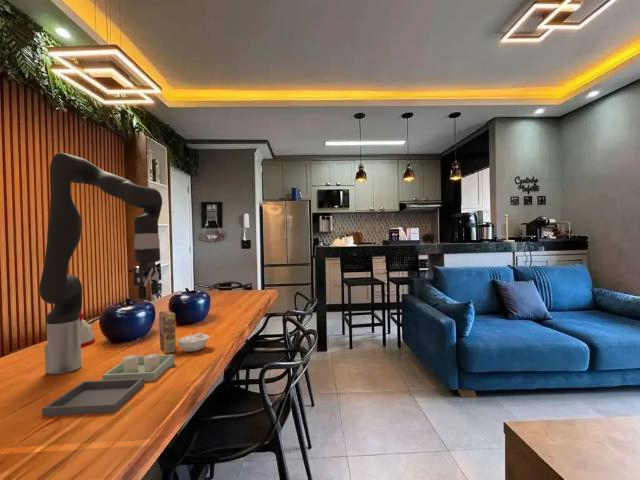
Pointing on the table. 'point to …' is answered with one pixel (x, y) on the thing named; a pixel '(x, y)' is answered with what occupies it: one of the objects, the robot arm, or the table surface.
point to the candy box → (167, 331)
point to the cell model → (193, 342)
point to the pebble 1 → (130, 364)
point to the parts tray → (94, 397)
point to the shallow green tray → (140, 370)
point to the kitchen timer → (86, 333)
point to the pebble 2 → (151, 362)
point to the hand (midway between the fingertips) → (149, 296)
